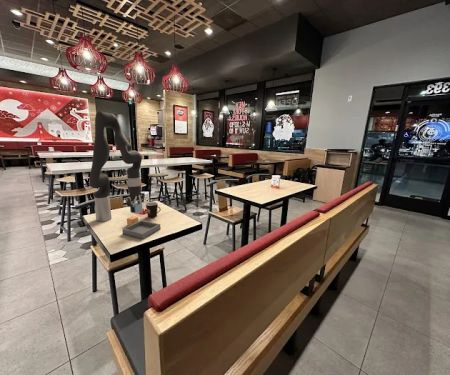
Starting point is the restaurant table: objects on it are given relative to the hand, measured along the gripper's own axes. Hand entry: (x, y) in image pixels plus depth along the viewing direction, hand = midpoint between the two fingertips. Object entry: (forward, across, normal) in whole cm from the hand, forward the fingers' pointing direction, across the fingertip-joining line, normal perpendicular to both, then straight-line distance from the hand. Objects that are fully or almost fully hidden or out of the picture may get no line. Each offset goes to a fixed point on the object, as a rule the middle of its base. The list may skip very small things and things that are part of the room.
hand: (136, 210), depth 134 cm
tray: (+13, 0, +3) cm, 14 cm away
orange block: (+14, -6, -11) cm, 18 cm away
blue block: (+1, 0, 0) cm, 1 cm away
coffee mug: (+14, -23, -8) cm, 28 cm away
